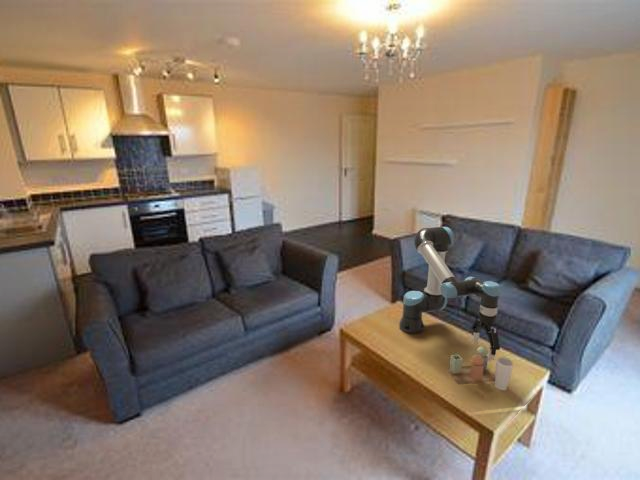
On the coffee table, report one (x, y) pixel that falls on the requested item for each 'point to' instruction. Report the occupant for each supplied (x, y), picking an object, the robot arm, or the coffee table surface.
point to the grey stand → (484, 362)
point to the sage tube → (455, 364)
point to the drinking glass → (503, 372)
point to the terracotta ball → (478, 359)
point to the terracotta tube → (476, 371)
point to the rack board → (466, 378)
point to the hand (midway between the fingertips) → (483, 351)
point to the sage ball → (482, 351)
